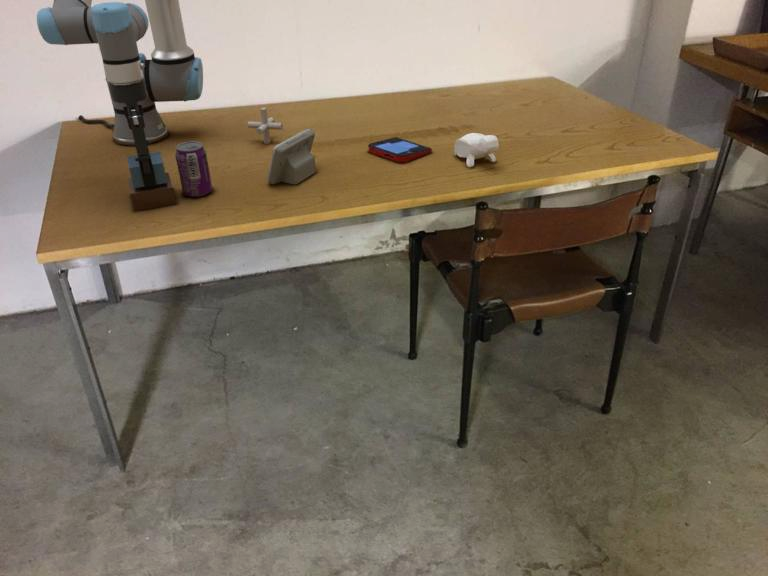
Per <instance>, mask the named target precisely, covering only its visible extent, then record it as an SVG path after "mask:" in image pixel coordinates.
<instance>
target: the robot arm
mask: <svg viewBox="0 0 768 576" xmlns="http://www.w3.org/2000/svg"><path fill="white" fill-rule="evenodd" d="M144 2H145V6H146V7H145V8H146V11H145V10H144V9H143V8H142V7H140V6H139V5H138V4H135V3H132V2H126V3H124V2H121V1H110V2H109V1H108V2H100V3H97V4H94V5H93V6H92V3H93V0H53V2H52V3H53V4H52V6H51V7H49V6H47V7H45V8H44V7H43V8H41V9H39V10H38V11H37V13H36V24H37V28H38V32H39V34H40V36H41V38H42V39H43V41H44V42H46V43H47V44H49V45H55V46H56V45H57V46H59V45H60V46H69V45H70V46H71V45H90V44H92V45H93V44H97V45H98V48H99V51H100V56H101V59H102V65H103V70H104V74H105V81H106V85H107V88H108V92H109V96H110V100H111V104H112V108H113V112H114V121H113V122H114V124H113V123H111V124H110V123H109V122H108V121H106V120H104V119H86V118H85V117H84V116H83V115H79V116H78V120H82V121H83V122H84V123H87V124H104V125H105V126H106V127H107V128H113V132H112V133H113V135H112V136H113V139H114V142H115V143H117V144H118V145H121V146H132V147H133V146H135V151H136V155H138V158H135V160H136V161H139V165H140V169H141V173H142V178H143V182H144V186H145V187H147V186H153V185H157V183H156V179H155V175H154V170H153V166H152V161H151V156H150V155H149V153H150V150H149V145H150V144H154V143H157V142H159V141H162V140H164V139H165V138H167V136H168V134H169V133H168V127H167V125H166V124H165V123H164V121H163V120H164V119H162V117H161V115H160V113H159V112H158V109H157V107H156V106H157V105H156V103H165V102H166V103H167V102H188V101H197V100H199V99H200V97H202V95H203V87H204V67H203V66H204V65H203V62H202V59H201V58H200V57H198V56H195V52H194V49H193V48H191V46H189V45H188V44H187V39H186V33H185V27H184V23H183V22H184V21H183V18H182V11H181V6H180V1H179V0H144ZM146 13H147V14H146ZM149 25H150V30H151V33H152V35H151V36H152V39H153V45H154V49H153V50H152V52H151V54H150V56H151V59H147V56H146V55H145V53H142V52H141V53H140V52H139V48H138V42H139V40H142V39H143V38H144V37H145V36H146V33H147V32H148V29H149Z"/></svg>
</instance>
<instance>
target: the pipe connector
mask: <svg viewBox="0 0 768 576" xmlns="http://www.w3.org/2000/svg"><path fill="white" fill-rule="evenodd" d="M259 111H260V117H261V118H260V119H261V121H251V120H250V121H247V127H248V128H249V129H255V132H256V134H257V135H259V136H261V135H262V136H263V143H264V144H265V145H267V144H270V143H271V136H270V135H271V134H270V130H281V131H282V130H283V129H284V125H283V123H282V122H275V119H274V117H268V109H267V107H260V108H259Z"/></svg>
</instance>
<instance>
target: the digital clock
mask: <svg viewBox="0 0 768 576" xmlns="http://www.w3.org/2000/svg"><path fill="white" fill-rule="evenodd" d="M315 136H316V133H315V130H314V129H313V128H308V129H305V130H303V131H300V132H299V133H297V134H294V135H293V136H291V137H288V138H287V139H286V140H283V141H282V142H279V143H278V144H276V145H275V146H274V147H273V149H272V153H271V158H270V163H269V166H268V171H267V177H266V180H267V183H268V184H269V185H276V184H279V183H280V182H281V183H285V184H290V185H295V186H297V185H298V184H300V183H301V182H303V181H304V180H306V179H308V178H309V177H310V176H313V175H314V174H315V173H317V171H316V159H315V156H314V155H313V154H312V153H311V152H312V148H313V143H314V141H315Z"/></svg>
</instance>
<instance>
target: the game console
mask: <svg viewBox="0 0 768 576" xmlns="http://www.w3.org/2000/svg"><path fill="white" fill-rule="evenodd" d="M367 147H368V152H369V153H370V154H373V155H376V156H379V157H381V158H384V159H387V160H389V161H393V162H395V163H406V162H409V161H411V160H414V159H415V160H416V158H420V157H422V156H425V155H428V154H430V153H431V152H432V151H433V149H432V148H431V147H429V146H425V145H422V144H419V143H416V142H414V141H410V140H407V139H403V138H402V137H397V136H394V137H391V138H386V139H382V140H379V141H373V142H370V143H368V145H367Z"/></svg>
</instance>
